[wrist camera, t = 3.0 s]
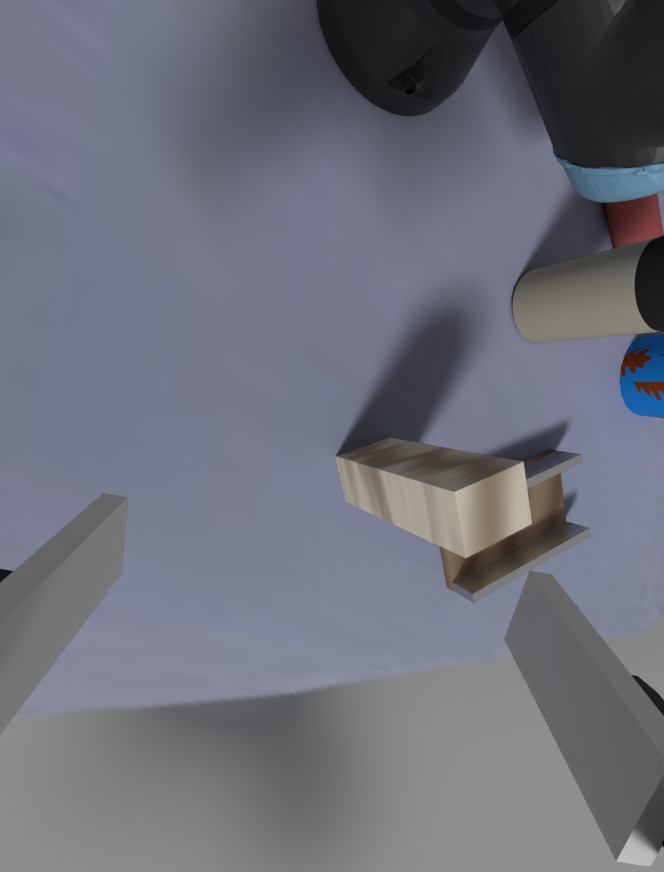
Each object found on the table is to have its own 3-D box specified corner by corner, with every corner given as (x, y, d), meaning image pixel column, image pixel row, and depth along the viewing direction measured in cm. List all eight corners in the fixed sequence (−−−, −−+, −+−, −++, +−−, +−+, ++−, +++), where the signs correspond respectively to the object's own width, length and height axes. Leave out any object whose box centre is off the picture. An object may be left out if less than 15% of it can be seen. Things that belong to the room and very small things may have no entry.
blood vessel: (630, 248, 59) (673, 237, 55) (606, 260, 57) (649, 249, 53) (557, -167, 48) (604, -224, 43) (524, -169, 46) (569, -228, 41)
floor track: (447, 587, 50) (473, 602, 47) (431, 501, 48) (458, 510, 45) (560, 526, 58) (590, 535, 54) (550, 449, 56) (581, 454, 52)
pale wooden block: (345, 501, 44) (465, 558, 30) (335, 456, 43) (454, 492, 29) (398, 480, 46) (531, 523, 32) (389, 437, 45) (523, 461, 31)
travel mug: (522, 355, 52) (711, 342, 36) (501, 286, 50) (693, 239, 34) (567, 326, 55) (761, 301, 39) (549, 259, 52) (747, 204, 36)
